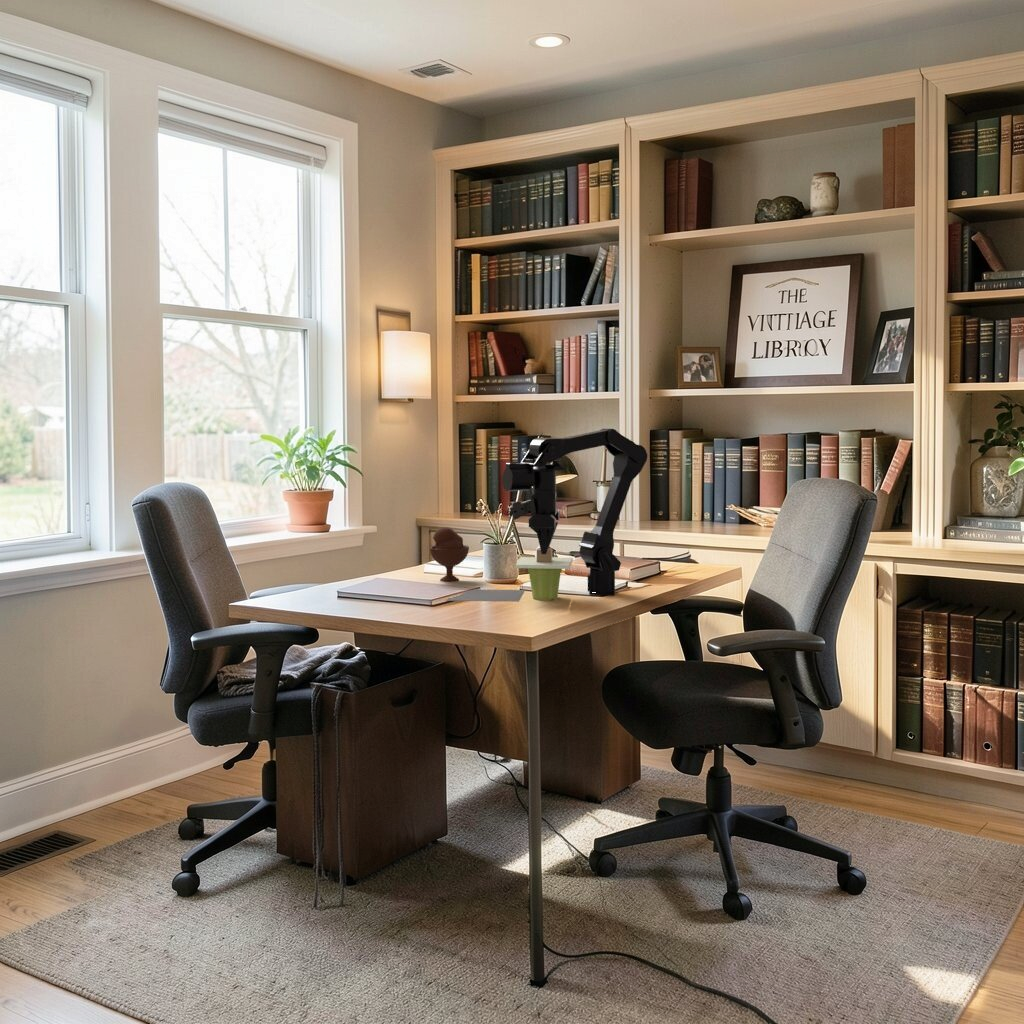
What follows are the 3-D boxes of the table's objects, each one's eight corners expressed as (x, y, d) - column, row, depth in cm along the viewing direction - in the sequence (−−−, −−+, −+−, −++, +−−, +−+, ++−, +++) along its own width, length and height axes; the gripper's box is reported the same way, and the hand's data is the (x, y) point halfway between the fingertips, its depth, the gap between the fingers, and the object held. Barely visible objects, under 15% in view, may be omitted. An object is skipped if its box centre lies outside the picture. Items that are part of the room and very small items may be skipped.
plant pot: (523, 602, 262) (523, 566, 262) (528, 595, 272) (528, 561, 271) (561, 603, 261) (561, 567, 260) (565, 596, 270) (565, 562, 269)
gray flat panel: (524, 591, 278) (524, 589, 278) (518, 602, 262) (518, 601, 262) (456, 590, 280) (455, 589, 280) (445, 601, 264) (445, 600, 264)
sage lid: (572, 560, 271) (572, 545, 271) (569, 568, 258) (569, 553, 258) (521, 560, 273) (521, 545, 272) (515, 568, 260) (515, 552, 259)
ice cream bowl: (464, 585, 288) (464, 529, 286) (424, 584, 290) (423, 528, 288) (474, 578, 298) (473, 524, 297) (435, 577, 300) (434, 524, 299)
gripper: (515, 486, 274) (516, 547, 275) (507, 492, 255) (508, 557, 257) (559, 486, 272) (559, 547, 274) (554, 492, 254) (554, 558, 256)
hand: (544, 552), depth 265 cm, fingers open, 5 cm apart
